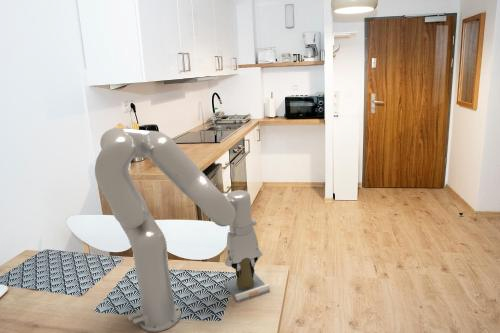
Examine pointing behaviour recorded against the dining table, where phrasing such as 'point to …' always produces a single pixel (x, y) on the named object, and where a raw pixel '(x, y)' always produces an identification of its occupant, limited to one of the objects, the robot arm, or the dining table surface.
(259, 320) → the dining table surface
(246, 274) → the olive brown pepper mill
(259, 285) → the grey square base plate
